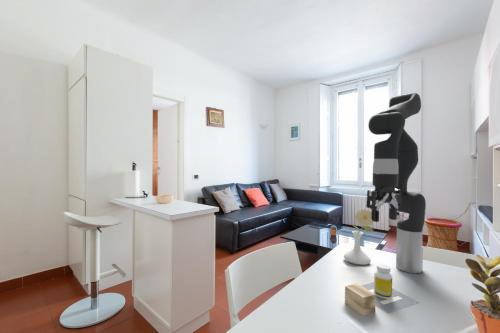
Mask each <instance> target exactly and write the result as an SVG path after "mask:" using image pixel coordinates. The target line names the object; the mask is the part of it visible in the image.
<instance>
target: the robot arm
mask: <svg viewBox="0 0 500 333" xmlns="http://www.w3.org/2000/svg"><path fill="white" fill-rule="evenodd" d="M421 107H422V100H421V96H420V95H419V93H417V92H409V93H405V94H400V95H394V96H391V97H390V99H389V101H388V108H387V109H386V110H384V111H380V112H377V113H375V114H373V115H372V116H371V117H370V118H369V120H368V130H369V131H370V133H372V134H373V135H379V136H381V135H389V136H388V138H387V139H384V140H381V141H378V142H376V143H374V146H373V164H372V186H374V189H367V193H366V206H365V207H366V208H367V209H370V211H371V218H372V221H374V222H376V223H378V222H380V208H381V206H383V205H384V204H387V205H388V206H389V208H388V210H389V212H388V218H389V220H396V221H397V216H398V215H397V213H398V212H400V213H404V214H408V217H407V219H402V220H398V221H397V223H396V254H395V255H396V256H395V258H396V261H395V268H397V269H398V270H400V271H403V272H406V273H410V274H421V273H422V271H423V267H424V265H423V263H424V262H423V261H424V259H423V258H424V248H423V228H424V226H425V219H426V218H425V217H426V207H427V206H426V205H427V204H426V202H427V201H426V199H425V196H424V195H423V194H421V193H419V192H418V193H417V192H411V191H409V192H408V181H409V179H410V177H411V175H412V174H413V172H414V170H415V169H416V168H417V166H418V163H419V148H418V144H417V143H416V142H415V140H414V139H413V138H412V136H410V134H409V133H408V132H407V131H406V130H405V127H406V126H405V125H406V119H408V118H410V117H412V116H414V115H417V114H418V113H420V111H421Z"/></svg>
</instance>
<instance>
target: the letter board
mask: <svg viewBox="0 0 500 333" xmlns="http://www.w3.org/2000/svg"><path fill="white" fill-rule="evenodd" d="M360 286H362V287H364V288H366V289H367V290H369V291H371V292H372V293H374V281H373V282H369V283H365V284H361V285H360ZM416 304H420V302H419V301H418V300H417V299H414V298H412V297H410V296H407V295H406V294H404V293H402V292H401V291H398V290H397V289H395V288H393V287H392V297H391V298H390V299H384V298H380V297H378V296H376V300H375V307H377V308H379V309H380V310H381V311H384V312H385V313H387V314H391V313H393V312H396V311H399V310H402V309H405V308H409V307H410V306H413V305H416Z"/></svg>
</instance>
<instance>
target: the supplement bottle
mask: <svg viewBox="0 0 500 333" xmlns="http://www.w3.org/2000/svg"><path fill="white" fill-rule="evenodd" d="M373 274H374V276H373V282H374V294H376V296H378V297H380V298H384V299H390V298H391V297H392V288H393V275H392V273H391V267H390V266H389V265H388V264H383V263H378V264H376V270H375V271H374V273H373Z"/></svg>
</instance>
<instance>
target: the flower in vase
mask: <svg viewBox="0 0 500 333" xmlns="http://www.w3.org/2000/svg"><path fill="white" fill-rule="evenodd" d="M354 219H355V221H356V223H357V224H359V225H360V226H362V227H361V228H359V227H357V226H355V225H353V224H352V226H353V227H354V228H356V229H358V230H352V231H351V233H352V235H353V240H354V246H353V248H351V249H350V250H348V251H346V252H345V253H344V255H343V258H344V260H345V261H346V262H348V263H351V264H354V265H357V266H358V265H361V266H363V265H368V264H370V263H371V257H370V256H369V255H368V254H367V253H366V252H364V251H363V250H362V249H361V245H360V244H361V239H362V236H363V235H364V232H363V231H361V230H362V229H364V230H365V232H373V231H374V229H373V228H372V227H371V225H374V222H375V221H372V218H371V210H369V209H366V208H363V209H360V210H357V211H356V214H355V215H354Z"/></svg>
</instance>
